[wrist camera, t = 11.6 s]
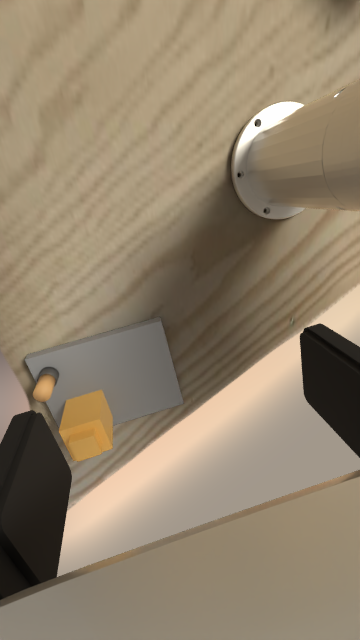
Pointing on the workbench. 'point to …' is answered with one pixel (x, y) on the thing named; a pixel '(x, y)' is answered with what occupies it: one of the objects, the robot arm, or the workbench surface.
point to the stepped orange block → (87, 426)
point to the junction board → (110, 372)
